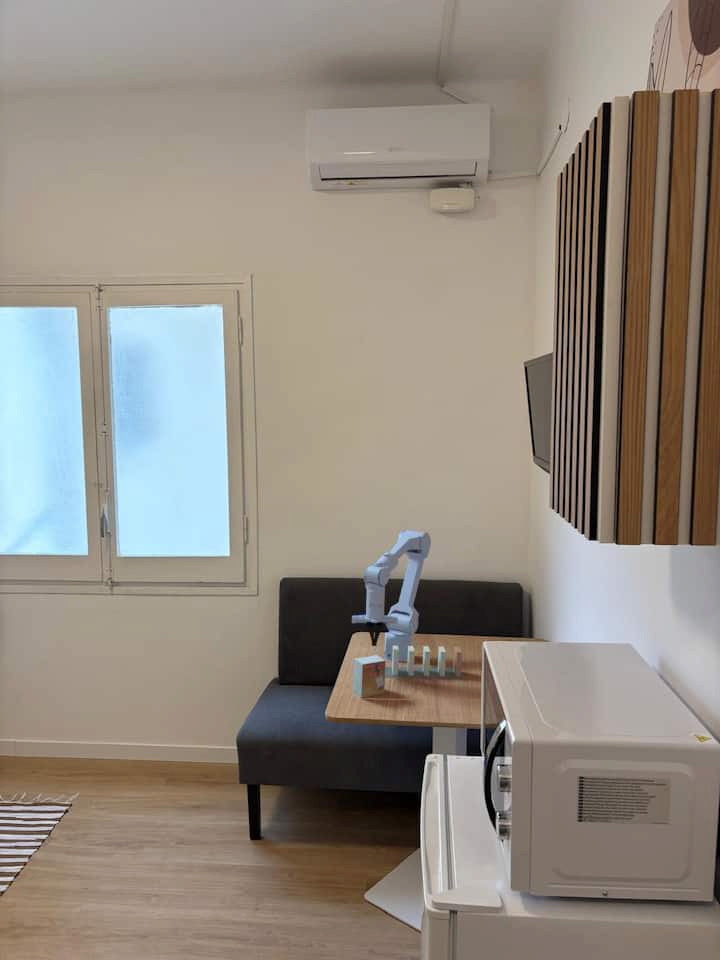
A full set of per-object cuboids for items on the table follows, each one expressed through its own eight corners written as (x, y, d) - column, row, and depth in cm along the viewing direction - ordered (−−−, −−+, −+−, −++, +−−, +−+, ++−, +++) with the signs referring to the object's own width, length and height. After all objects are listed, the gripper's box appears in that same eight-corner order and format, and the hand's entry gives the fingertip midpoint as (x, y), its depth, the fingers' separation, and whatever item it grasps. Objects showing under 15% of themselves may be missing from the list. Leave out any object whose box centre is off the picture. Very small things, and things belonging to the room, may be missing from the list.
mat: (380, 678, 215) (380, 677, 215) (378, 668, 224) (378, 666, 224) (465, 680, 216) (465, 679, 216) (460, 669, 225) (460, 668, 225)
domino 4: (439, 676, 218) (440, 651, 217) (437, 670, 223) (438, 646, 222) (444, 676, 218) (445, 651, 217) (442, 670, 223) (443, 646, 222)
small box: (361, 699, 200) (362, 664, 199) (352, 692, 204) (353, 658, 203) (384, 694, 203) (386, 660, 202) (375, 687, 208) (376, 654, 207)
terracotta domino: (455, 676, 218) (456, 652, 217) (453, 670, 223) (454, 646, 222) (460, 676, 218) (461, 652, 217) (458, 670, 223) (459, 647, 222)
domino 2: (408, 675, 218) (409, 651, 217) (407, 669, 223) (408, 645, 222) (413, 675, 218) (414, 651, 217) (412, 669, 223) (413, 645, 222)
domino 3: (424, 675, 218) (425, 651, 217) (422, 670, 223) (423, 646, 222) (429, 675, 218) (430, 651, 217) (427, 670, 223) (428, 646, 222)
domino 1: (393, 675, 217) (393, 650, 217) (391, 669, 222) (392, 645, 222) (398, 675, 217) (398, 651, 217) (396, 669, 222) (397, 645, 222)
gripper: (352, 606, 213) (351, 648, 215) (399, 607, 214) (397, 649, 215) (352, 600, 220) (351, 641, 222) (397, 601, 221) (395, 642, 222)
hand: (374, 645), depth 219 cm, fingers closed
